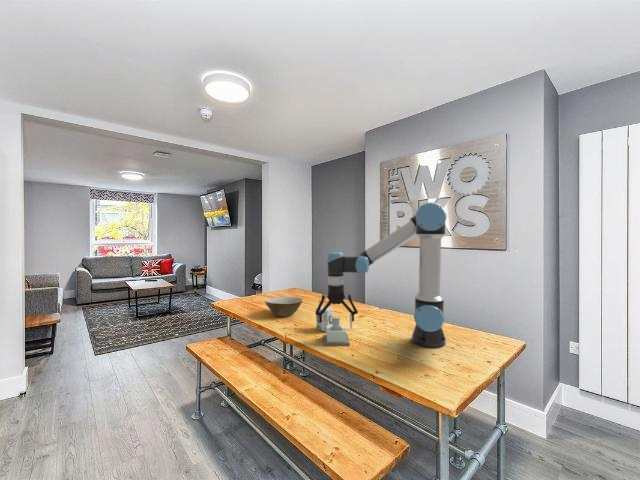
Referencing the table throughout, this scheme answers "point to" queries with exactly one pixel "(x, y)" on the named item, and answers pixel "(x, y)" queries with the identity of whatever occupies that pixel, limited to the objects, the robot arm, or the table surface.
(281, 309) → the bowl
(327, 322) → the ink box
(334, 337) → the collar
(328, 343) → the post
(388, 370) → the table surface
